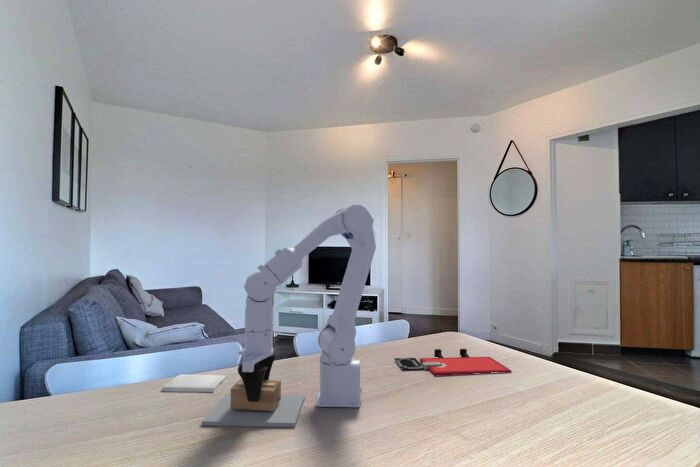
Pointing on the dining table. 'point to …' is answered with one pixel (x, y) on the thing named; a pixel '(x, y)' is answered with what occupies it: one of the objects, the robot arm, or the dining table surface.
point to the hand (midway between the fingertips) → (257, 394)
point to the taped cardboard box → (267, 398)
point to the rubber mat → (256, 414)
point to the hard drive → (195, 383)
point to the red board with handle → (453, 364)
